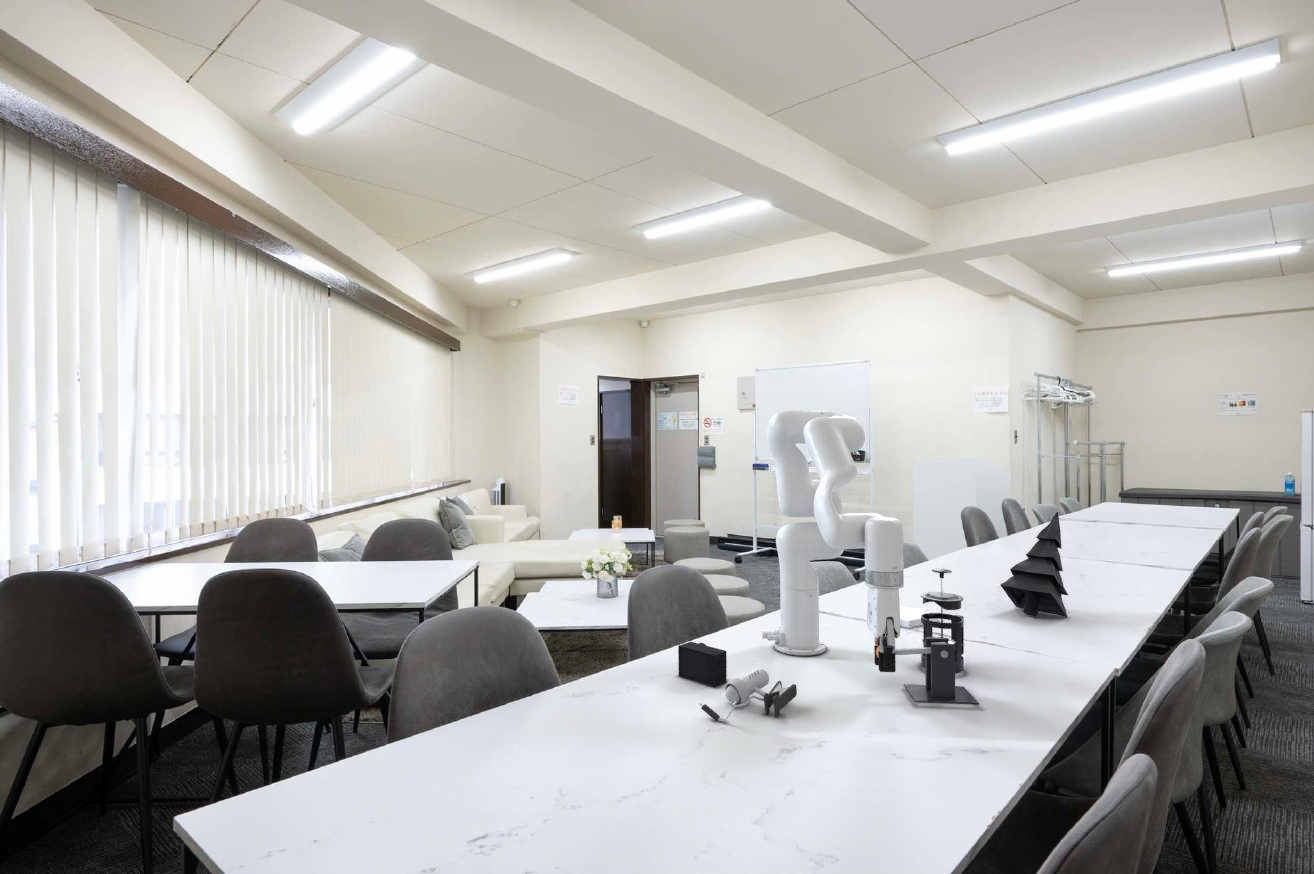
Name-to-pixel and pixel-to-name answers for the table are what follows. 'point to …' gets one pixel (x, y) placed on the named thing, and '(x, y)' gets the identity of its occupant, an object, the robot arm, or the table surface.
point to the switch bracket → (940, 676)
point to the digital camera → (702, 663)
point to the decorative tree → (1039, 576)
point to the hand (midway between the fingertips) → (884, 667)
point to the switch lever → (909, 650)
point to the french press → (957, 621)
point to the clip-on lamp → (752, 683)
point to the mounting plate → (912, 616)
